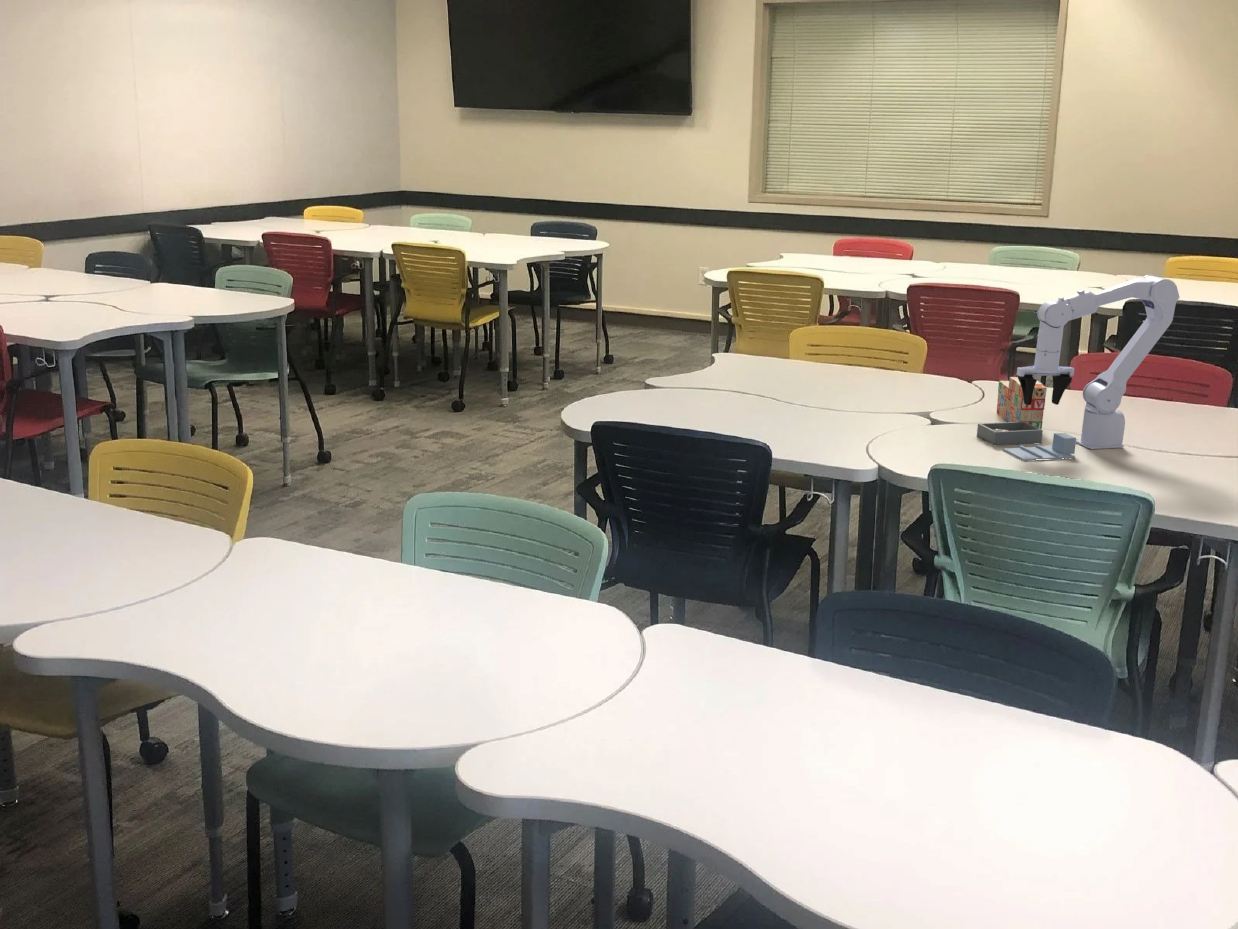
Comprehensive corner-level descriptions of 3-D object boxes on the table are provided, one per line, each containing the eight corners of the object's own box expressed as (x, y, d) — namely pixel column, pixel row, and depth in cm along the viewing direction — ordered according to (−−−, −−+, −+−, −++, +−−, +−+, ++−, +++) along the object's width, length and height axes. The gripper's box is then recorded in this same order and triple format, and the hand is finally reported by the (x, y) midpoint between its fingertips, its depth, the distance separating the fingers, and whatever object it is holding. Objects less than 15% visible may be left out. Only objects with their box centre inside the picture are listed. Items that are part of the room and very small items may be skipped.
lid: (1057, 449, 298) (1059, 430, 297) (1079, 460, 289) (1081, 440, 288) (1003, 452, 296) (1005, 432, 294) (1023, 463, 286) (1025, 442, 285)
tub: (1022, 434, 311) (1024, 421, 310) (1041, 443, 302) (1042, 430, 301) (976, 436, 308) (977, 423, 307) (993, 445, 300) (995, 432, 299)
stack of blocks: (995, 412, 334) (999, 369, 331) (1018, 413, 334) (1022, 370, 331) (1017, 432, 314) (1022, 386, 310) (1042, 432, 314) (1047, 386, 310)
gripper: (1066, 347, 300) (1058, 399, 304) (1013, 347, 297) (1006, 400, 301) (1081, 352, 293) (1074, 406, 297) (1028, 352, 291) (1021, 407, 294)
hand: (1041, 404), depth 299 cm, fingers open, 7 cm apart
